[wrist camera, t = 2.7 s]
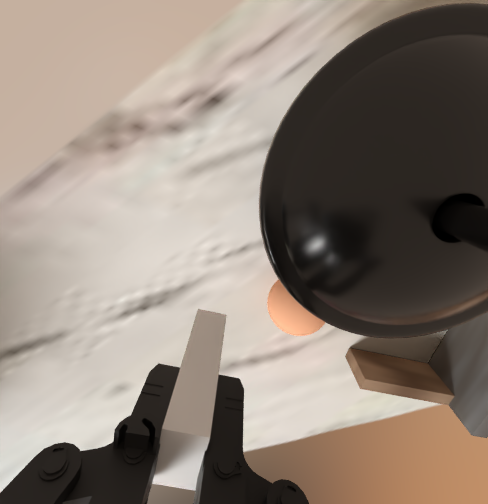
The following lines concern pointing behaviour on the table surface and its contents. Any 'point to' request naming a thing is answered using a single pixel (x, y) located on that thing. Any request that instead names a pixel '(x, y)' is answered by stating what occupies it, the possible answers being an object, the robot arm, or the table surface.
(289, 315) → the ball
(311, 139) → the drinking cup
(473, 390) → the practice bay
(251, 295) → the table surface
